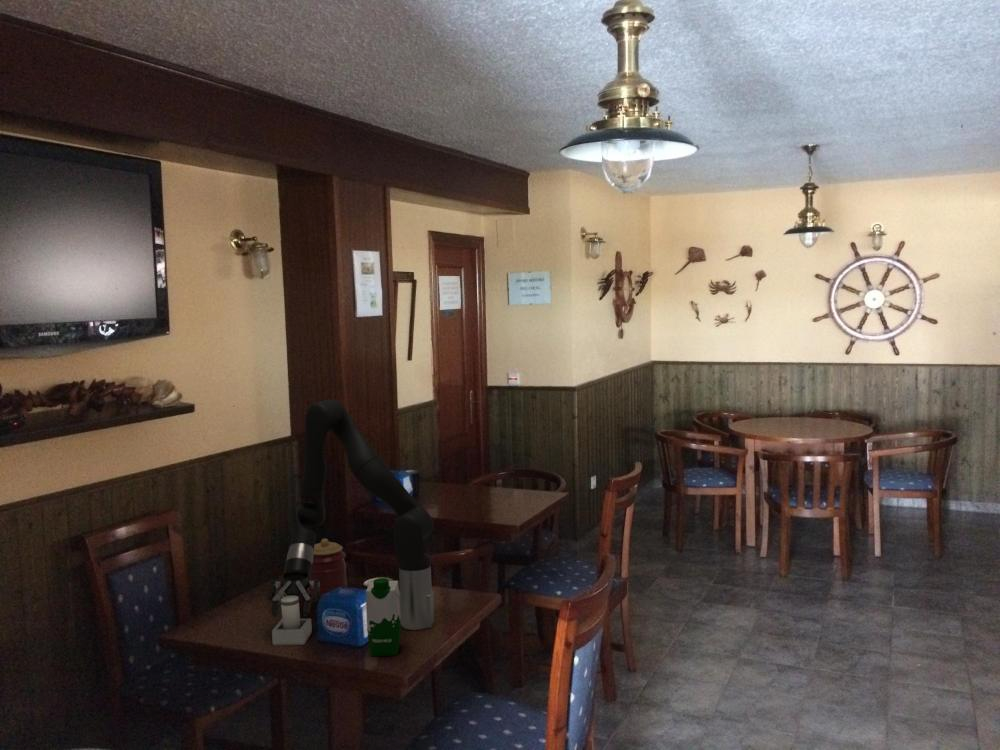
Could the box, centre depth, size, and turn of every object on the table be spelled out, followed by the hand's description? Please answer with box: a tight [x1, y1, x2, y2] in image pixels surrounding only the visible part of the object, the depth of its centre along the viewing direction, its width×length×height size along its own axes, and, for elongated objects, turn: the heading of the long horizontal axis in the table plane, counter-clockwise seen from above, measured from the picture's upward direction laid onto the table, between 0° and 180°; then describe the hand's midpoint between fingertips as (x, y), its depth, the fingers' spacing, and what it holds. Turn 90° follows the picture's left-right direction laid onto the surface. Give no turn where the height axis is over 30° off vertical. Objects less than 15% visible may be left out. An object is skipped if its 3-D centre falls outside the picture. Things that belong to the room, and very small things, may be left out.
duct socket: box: [271, 618, 313, 646], centre depth 233 cm, size 9×9×4 cm
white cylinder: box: [280, 596, 301, 629], centre depth 233 cm, size 5×5×11 cm
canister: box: [306, 538, 348, 597], centre depth 272 cm, size 13×13×18 cm
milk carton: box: [365, 577, 402, 657], centre depth 222 cm, size 9×9×20 cm
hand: (289, 615), depth 232 cm, fingers open, 8 cm apart
